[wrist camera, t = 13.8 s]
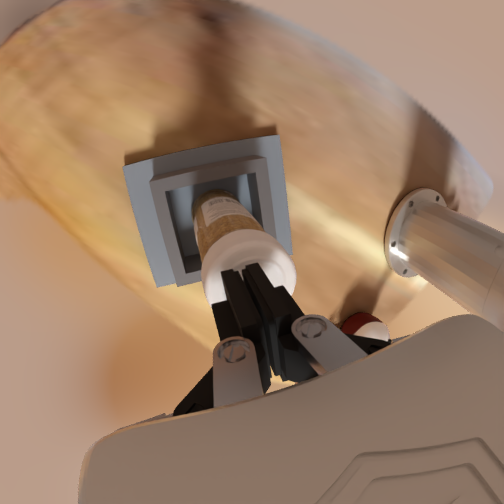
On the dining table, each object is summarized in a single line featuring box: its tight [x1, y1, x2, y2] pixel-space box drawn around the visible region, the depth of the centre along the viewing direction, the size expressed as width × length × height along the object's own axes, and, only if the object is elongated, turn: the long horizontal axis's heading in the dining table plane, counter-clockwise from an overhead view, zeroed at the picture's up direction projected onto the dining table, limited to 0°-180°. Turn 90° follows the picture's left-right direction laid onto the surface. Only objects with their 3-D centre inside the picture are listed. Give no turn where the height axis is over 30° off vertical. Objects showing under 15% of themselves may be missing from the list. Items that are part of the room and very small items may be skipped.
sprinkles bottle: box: [192, 189, 296, 308], centre depth 19 cm, size 5×5×14 cm
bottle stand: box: [123, 135, 293, 287], centre depth 24 cm, size 14×12×4 cm
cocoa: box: [340, 312, 392, 343], centre depth 32 cm, size 10×6×12 cm, turn 72°
